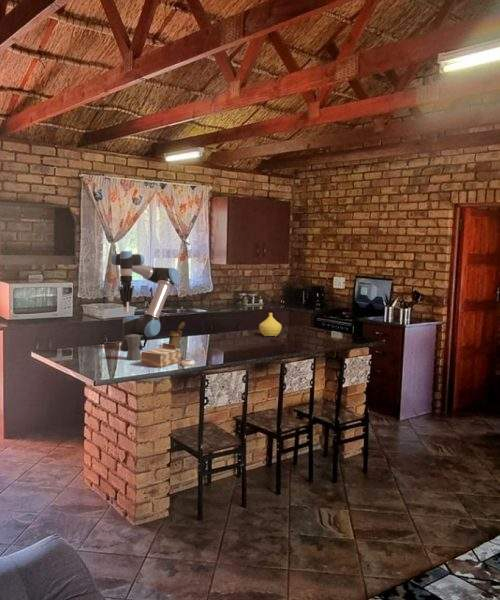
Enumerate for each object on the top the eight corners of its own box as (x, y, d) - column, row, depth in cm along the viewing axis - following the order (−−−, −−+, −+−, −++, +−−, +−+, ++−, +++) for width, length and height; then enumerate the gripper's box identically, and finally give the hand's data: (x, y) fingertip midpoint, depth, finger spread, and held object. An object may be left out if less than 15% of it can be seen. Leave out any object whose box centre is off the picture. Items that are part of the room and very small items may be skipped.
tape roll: (186, 363, 345) (186, 359, 345) (197, 364, 341) (197, 360, 341) (178, 365, 338) (178, 361, 338) (189, 366, 334) (189, 362, 334)
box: (160, 359, 354) (160, 346, 353) (180, 362, 347) (180, 349, 346) (140, 365, 336) (140, 351, 336) (160, 368, 330) (160, 354, 329)
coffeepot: (121, 360, 350) (121, 332, 348) (125, 357, 359) (125, 329, 358) (146, 360, 350) (146, 332, 348) (149, 357, 359) (149, 330, 358)
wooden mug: (188, 346, 403) (188, 321, 401) (172, 348, 394) (172, 323, 392) (180, 344, 409) (180, 320, 408) (165, 346, 400) (165, 322, 398)
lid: (161, 348, 353) (161, 342, 353) (179, 350, 347) (179, 344, 346) (142, 353, 336) (142, 347, 336) (161, 355, 330) (161, 349, 329)
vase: (270, 333, 472) (271, 311, 470) (285, 336, 458) (286, 313, 456) (254, 335, 460) (254, 312, 458) (269, 338, 446) (269, 314, 444)
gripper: (128, 274, 365) (128, 310, 367) (114, 275, 353) (114, 312, 355) (137, 275, 361) (137, 311, 363) (123, 275, 350) (124, 313, 352)
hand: (126, 311), depth 359 cm, fingers closed
